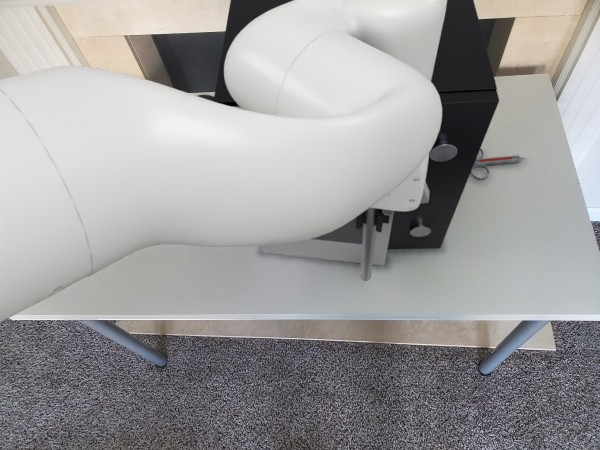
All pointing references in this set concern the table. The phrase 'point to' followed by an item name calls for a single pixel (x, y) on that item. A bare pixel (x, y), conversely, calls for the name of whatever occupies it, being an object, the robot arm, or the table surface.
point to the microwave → (455, 115)
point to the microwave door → (344, 244)
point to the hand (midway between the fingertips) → (370, 219)
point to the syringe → (494, 162)
